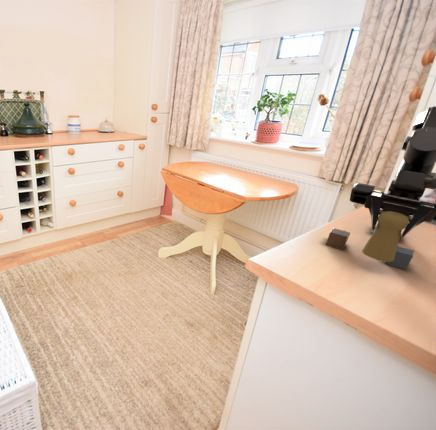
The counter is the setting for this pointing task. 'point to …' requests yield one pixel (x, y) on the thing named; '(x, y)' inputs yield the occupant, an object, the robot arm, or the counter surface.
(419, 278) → the counter surface
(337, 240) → the walnut block
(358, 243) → the counter surface
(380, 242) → the cork
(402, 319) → the counter surface
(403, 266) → the slate block
